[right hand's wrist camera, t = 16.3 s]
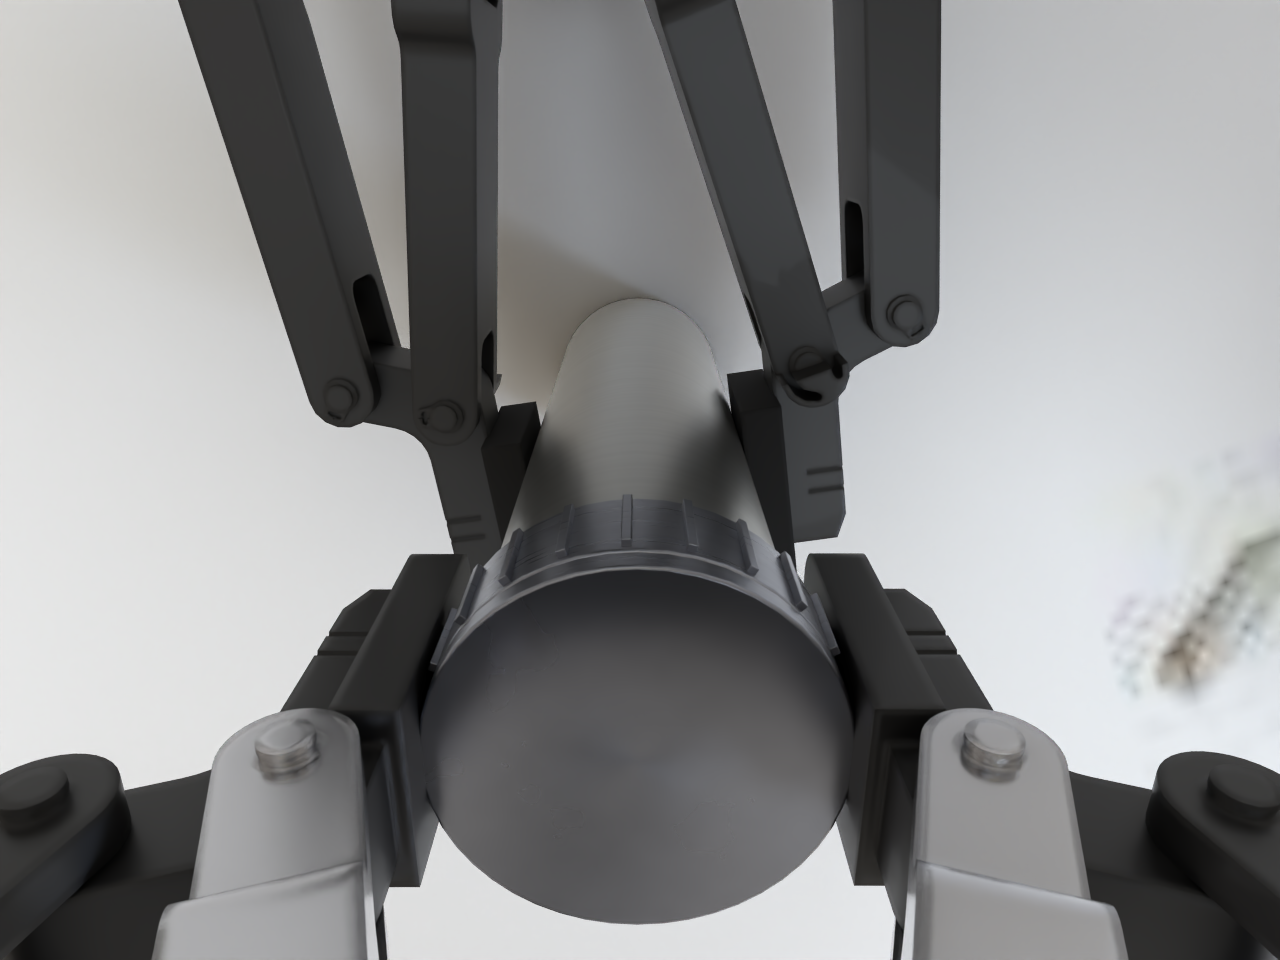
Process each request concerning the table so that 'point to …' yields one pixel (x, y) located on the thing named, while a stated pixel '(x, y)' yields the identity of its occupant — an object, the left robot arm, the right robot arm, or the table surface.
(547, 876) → the lid
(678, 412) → the jar
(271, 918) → the right robot arm
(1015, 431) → the table surface
